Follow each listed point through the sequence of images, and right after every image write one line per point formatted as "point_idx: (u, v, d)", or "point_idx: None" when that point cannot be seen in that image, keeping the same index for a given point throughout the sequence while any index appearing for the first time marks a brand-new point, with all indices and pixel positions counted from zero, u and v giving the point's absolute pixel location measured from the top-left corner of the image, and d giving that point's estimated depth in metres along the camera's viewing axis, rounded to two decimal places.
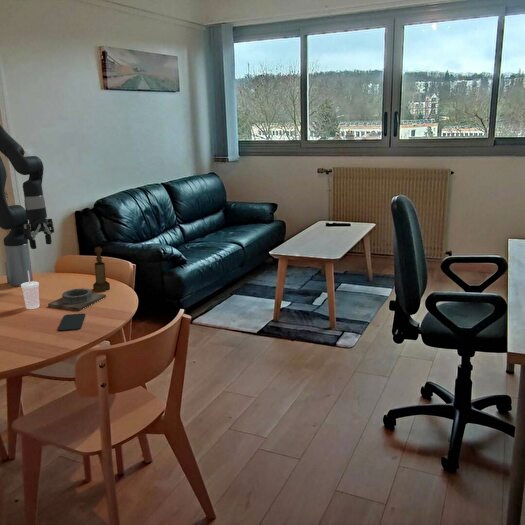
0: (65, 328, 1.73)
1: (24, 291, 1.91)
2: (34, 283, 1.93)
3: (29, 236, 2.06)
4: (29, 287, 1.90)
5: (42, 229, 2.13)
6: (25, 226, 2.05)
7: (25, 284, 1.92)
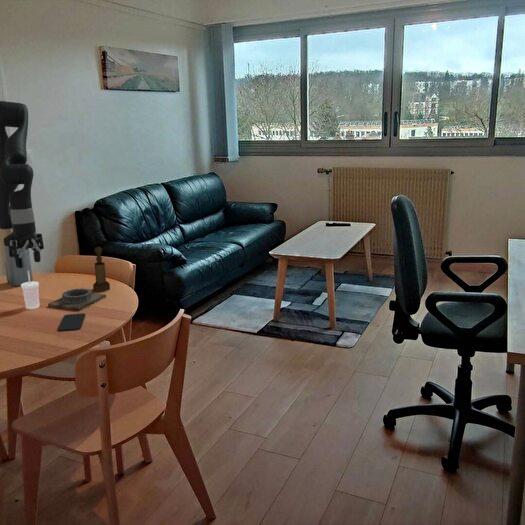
0: (65, 328, 1.73)
1: (24, 291, 1.91)
2: (34, 283, 1.93)
3: (15, 254, 1.83)
4: (29, 287, 1.90)
5: (30, 246, 1.89)
6: (11, 243, 1.82)
7: (25, 284, 1.92)
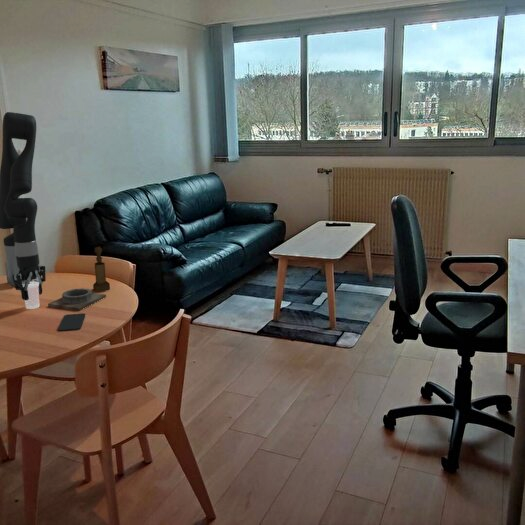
0: (65, 328, 1.73)
1: None
2: (34, 283, 1.93)
3: (21, 287, 1.87)
4: (29, 287, 1.90)
5: (33, 277, 1.92)
6: (15, 277, 1.85)
7: None
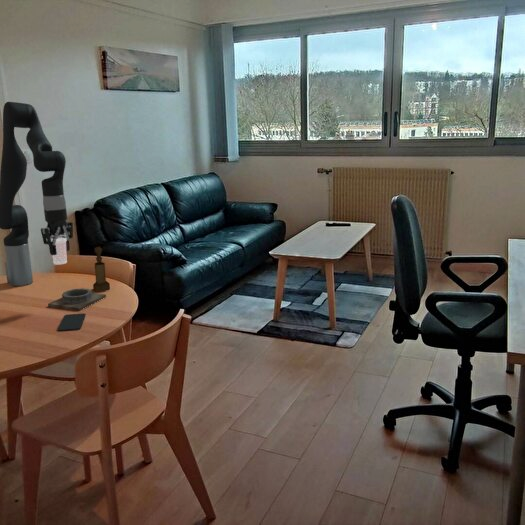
0: (65, 328, 1.73)
1: None
2: (62, 239, 1.93)
3: (49, 241, 1.86)
4: (57, 242, 1.89)
5: (61, 232, 1.91)
6: (43, 231, 1.84)
7: None
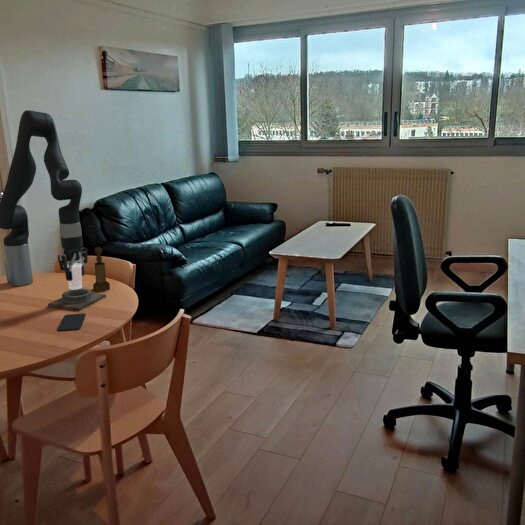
0: (65, 328, 1.73)
1: None
2: (77, 264, 1.97)
3: (66, 268, 1.90)
4: (73, 268, 1.94)
5: (76, 258, 1.95)
6: (60, 258, 1.89)
7: None
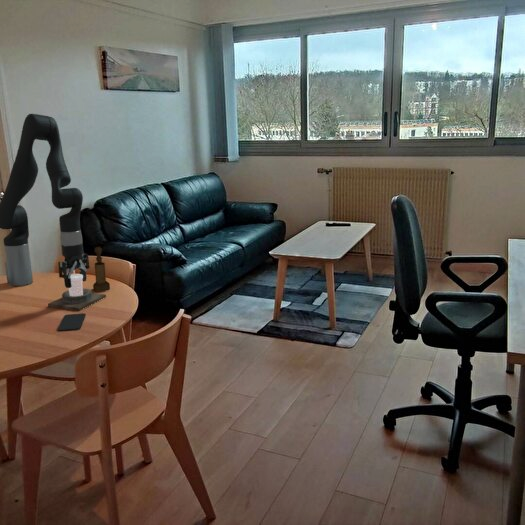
0: (65, 328, 1.73)
1: None
2: (78, 275, 1.98)
3: (65, 275, 1.90)
4: (74, 279, 1.95)
5: (78, 266, 1.97)
6: (61, 264, 1.89)
7: (70, 276, 1.97)
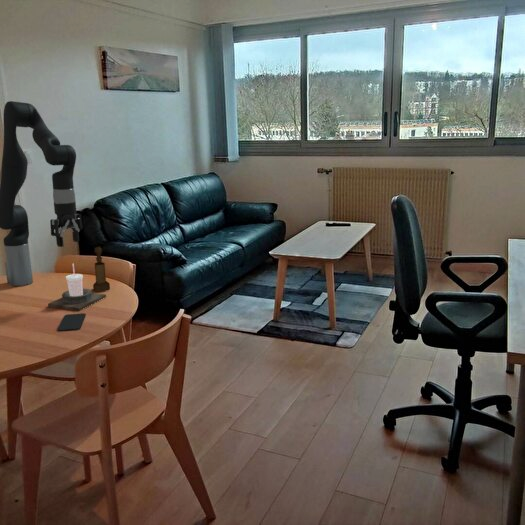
0: (65, 328, 1.73)
1: (69, 283, 1.96)
2: (78, 275, 1.98)
3: (57, 233, 1.88)
4: (74, 279, 1.95)
5: (70, 225, 1.94)
6: (53, 222, 1.87)
7: (70, 276, 1.97)
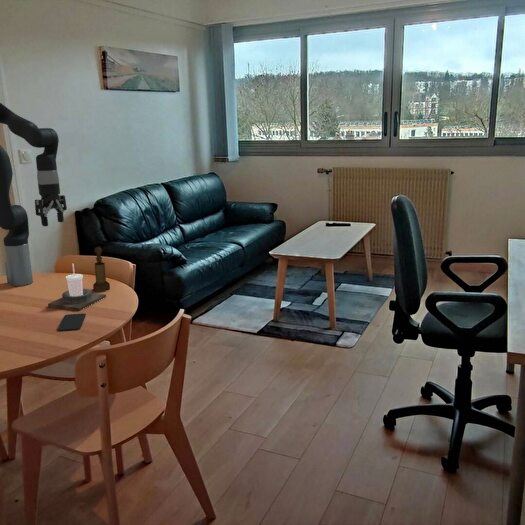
0: (65, 328, 1.73)
1: (69, 283, 1.96)
2: (78, 275, 1.98)
3: (41, 212, 1.96)
4: (74, 279, 1.95)
5: (54, 206, 2.02)
6: (37, 202, 1.95)
7: (70, 276, 1.97)
